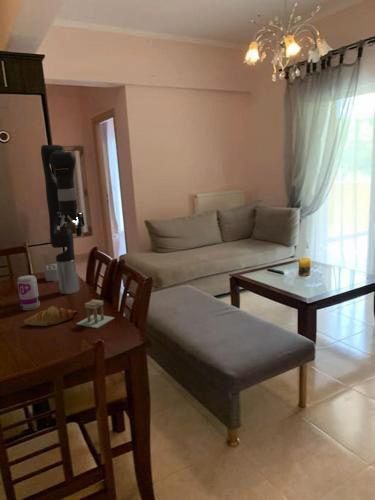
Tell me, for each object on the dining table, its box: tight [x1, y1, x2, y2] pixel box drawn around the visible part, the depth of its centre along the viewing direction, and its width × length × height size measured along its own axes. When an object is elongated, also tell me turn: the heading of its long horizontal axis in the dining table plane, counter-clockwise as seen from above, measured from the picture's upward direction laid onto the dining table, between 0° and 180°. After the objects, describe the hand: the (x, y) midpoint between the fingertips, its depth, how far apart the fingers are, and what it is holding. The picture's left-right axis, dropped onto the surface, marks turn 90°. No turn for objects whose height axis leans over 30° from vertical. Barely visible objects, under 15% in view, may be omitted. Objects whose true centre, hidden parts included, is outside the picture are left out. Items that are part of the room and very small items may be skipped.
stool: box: [84, 299, 105, 323], centre depth 154 cm, size 5×5×8 cm
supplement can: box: [16, 274, 41, 311], centre depth 174 cm, size 8×8×15 cm
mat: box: [75, 313, 115, 329], centre depth 155 cm, size 11×11×1 cm
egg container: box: [43, 262, 59, 282], centre depth 223 cm, size 10×13×9 cm
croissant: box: [24, 305, 78, 327], centre depth 156 cm, size 21×10×8 cm, turn 109°
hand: (71, 235), depth 166 cm, fingers open, 8 cm apart
